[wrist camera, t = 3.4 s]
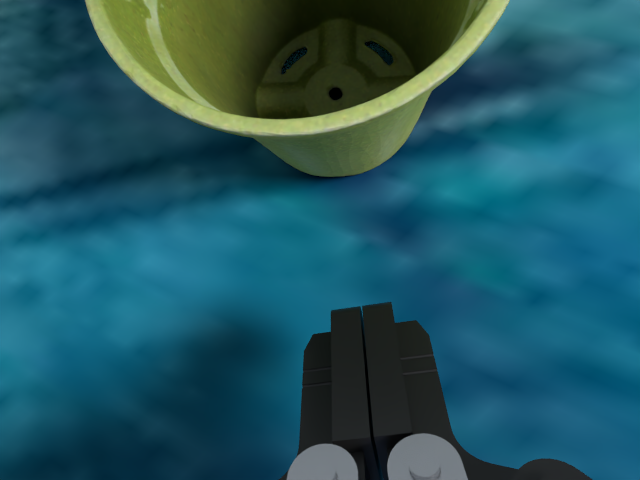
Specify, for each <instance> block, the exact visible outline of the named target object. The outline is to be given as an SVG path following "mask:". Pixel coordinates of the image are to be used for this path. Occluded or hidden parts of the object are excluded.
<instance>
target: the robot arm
mask: <svg viewBox="0 0 640 480" xmlns="http://www.w3.org/2000/svg"><path fill="white" fill-rule="evenodd" d="M362 310H363V316H362V311H361V307H360V306H359V307H352V308H345V309H338V310H332V311H331V332H326V333H318V334H313V335H312V337H311V339H310V341H309V343H308V345H307V347H306V349H305V350H304V362H303V372H304V373H303V382H302V385H303V388H302V401H301V421H300V441H299V450H298V454H297V457H296V459H295V460H294V461H293V463H292V465H291V466H290V469H289V470H288V471H287V473H286V474H285V475H284V476H282V477H281V478H280V479H279V480H592V479H591V478H589V477H588V476H587V475H585V474H584V473H582V472H581V471H580V470H578V469H576V468H575V467H573V466H572V465H569V464H567V463H565V462H562V461H559V460H554V459H536V460H533V461H530V462H528V463H526V464H524V465H523V466H522V467H521V468H519V470H518V469H514V468H509V467H504V466H500V465H495V464H491V463H487V462H484V461H482V460H479V459H477V458H476V457H474V456H472V455H471V454H469V453H468V452H467V451H465V450H464V449H463V448H462V447H461V446H460V444H459V443H458V442H457V440H456V439H455V437H454V435H453V432H452V429H451V426H450V422H449V418H448V413H447V409H446V405H445V401H444V397H443V392H442V388H441V384H440V380H439V376H438V372H437V367H436V363H435V359H434V355H433V350H432V346H431V342H430V338H429V335H428V333H427V332H426V331H425V330H424V329H423V328H422V326H421V325H420V324H419V323H418V322H417V321H416V320H415V321H407V322H400V323H395V322H394V316H393V310H392V304H391V302H387V303H380V304H373V305H365V306H362Z"/></svg>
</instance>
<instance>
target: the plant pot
mask: <svg viewBox="0 0 640 480" xmlns="http://www.w3.org/2000/svg"><path fill="white" fill-rule="evenodd" d="M509 1H510V0H85V2H86V6H87V10H88V13H89V16H90V19H91V21H92V24H93V26H94V29H95V31H96V33H97V35H98V37H99V39H100V41H101V42H102V44H103V46H104V47H105V49H106V50H107V52H108V53H109V55H110V56H111V57H112V59H113V60H114V61H115V63H116V64H117V65H118V66H119V68H120V69H121V70H122V71H123V72H124V73H125V74H126V75H127V76H128V77H129V78H130V79H131V80H132V81H133V82H134V83H135V84H136V85H137V86H138V87H140V88H141V89H142V90H143V91H144V92H146V93H147V94H148V95H150V96H151V97H152V98H153V99H155V100H156V101H158V102H159V103H160V104H162V105H163V106H165V107H166V108H168V109H170V110H171V111H173V112H175V113H176V114H179V115H181V116H183V117H185V118H187V119H189V120H191V121H193V122H195V123H198V124H200V125H203V126H205V127H208V128H211V129H215V130H219V131H222V132H226V133H231V134H235V135H239V136H245V137H252V138H254V139H256V140H257V141H258V142H260V143H261V144H262V145H264V146H265V147H266V148H268V149H269V150H270V151H271V152H273V153H274V154H275V155H277V156H278V157H279V158H281V159H282V160H284V161H285V162H286V163H288V164H289V165H291V166H293V167H294V168H296V169H298V170H300V171H302V172H305V173H308V174H311V175H315V176H327V177H334V176H348V175H356V174H360V173H363V172H366V171H368V170H371V169H373V168H375V167H377V166H378V165H380V164H382V163H383V162H385V161H386V160H388V159H389V158H390V157H391V156H392V155H394V154H395V153H396V152H397V151H398V150H399V148H400V147H401V146H402V145H403V144H404V143H405V141H406V140H407V138H408V137H409V135H410V133H411V132H412V130H413V128H414V126H415V124H416V122H417V121H418V119H419V116H420V114H421V112H422V110H423V108H424V106H425V103H426V101H427V99H428V97H429V95H430V93H431V91H432V90H433V89H434V88H436V87H437V86H438V85H440V84H441V83H442V82H444V81H445V80H446V79H447V78H449V77H450V76H451V75H452V74H453V73H455V72H456V71H457V70H458V69H459V68H460V67H461V65H462V64H463V63H464V62H465V61H466V60H467V59H468V58H469V57H470V56H471V55H472V54H473V53H474V52H475V51H476V50H477V49H478V47H479V46H480V45H481V44H482V42H483V41H484V40H485V38H486V37H487V36H488V35H489V33H490V32H491V31H492V29H493V28H494V26H495V25H496V23H497V21H498V20H499V18H500V17H501V15H502V14H503V12H504V10H505V8H506V7H507V5H508V3H509ZM370 41H373V42H375V43H377V44H379V45H380V46H382V47H383V48H384V49H386V50H387V51H388V52H389V53H390V54H391V55H392V57H393V63H392V65H388V64H387V63H386V62H384V61H383V59H382V58H381V57H380V56H379V55H378V53H376V52H375V51H373V50H372V49H370V48H369V47H367V46H366V45H365V43H366V42H370ZM304 47H306V48H307V49H308V51H307V53H306V54H305V55H304V56H302V57H301V58H300V59H299V60H298V61H296V62H295V63H294V64H293V65H292V66H291V68H290V69H287V70H286V73H285V74H281V73H282V67H283V66H284V64H285V62H286V60H287V59H288V58H289V57H290V56H291V54H293V53H294V52H296V51H297V50H298V49H301V48H304ZM332 88H339V89H340V90H341V91H342V93H343V95H342V97H341V98H340V99H338V100H332V98H330V97H329V91H330V90H331V89H332Z"/></svg>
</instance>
